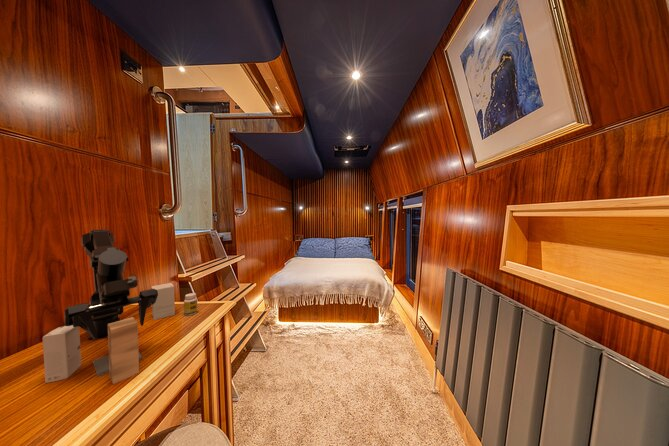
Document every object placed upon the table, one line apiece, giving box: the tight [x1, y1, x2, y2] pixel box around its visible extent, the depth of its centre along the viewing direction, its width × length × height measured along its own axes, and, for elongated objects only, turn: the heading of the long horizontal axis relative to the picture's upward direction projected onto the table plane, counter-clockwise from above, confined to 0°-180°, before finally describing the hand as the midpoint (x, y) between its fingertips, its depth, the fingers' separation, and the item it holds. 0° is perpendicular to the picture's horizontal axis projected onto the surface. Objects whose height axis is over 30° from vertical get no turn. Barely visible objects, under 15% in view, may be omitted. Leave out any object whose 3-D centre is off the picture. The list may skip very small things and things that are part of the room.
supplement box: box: [150, 282, 176, 321], centre depth 94 cm, size 7×7×13 cm
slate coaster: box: [92, 350, 143, 378], centre depth 64 cm, size 9×9×1 cm
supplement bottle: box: [183, 292, 198, 317], centre depth 95 cm, size 5×5×8 cm
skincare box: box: [42, 325, 82, 384], centre depth 59 cm, size 6×4×12 cm
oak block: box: [107, 316, 140, 385], centre depth 58 cm, size 5×5×14 cm
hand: (120, 331), depth 60 cm, fingers open, 9 cm apart
